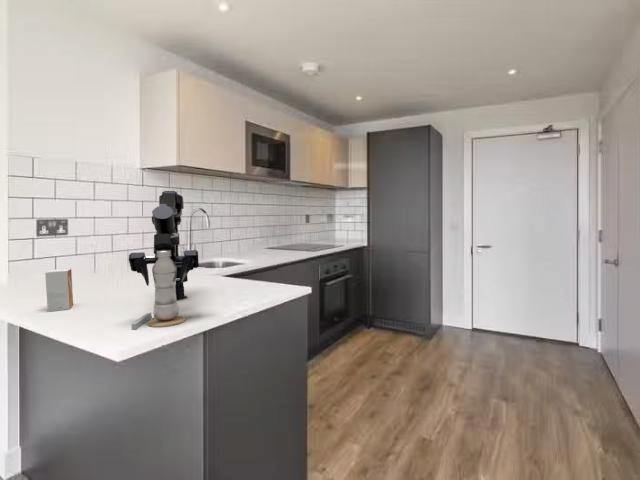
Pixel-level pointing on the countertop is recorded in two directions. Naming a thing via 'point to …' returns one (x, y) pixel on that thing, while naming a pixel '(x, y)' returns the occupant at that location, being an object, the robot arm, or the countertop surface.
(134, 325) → the sill
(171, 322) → the coaster
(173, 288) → the plastic bottle
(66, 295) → the small box
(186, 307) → the countertop surface
